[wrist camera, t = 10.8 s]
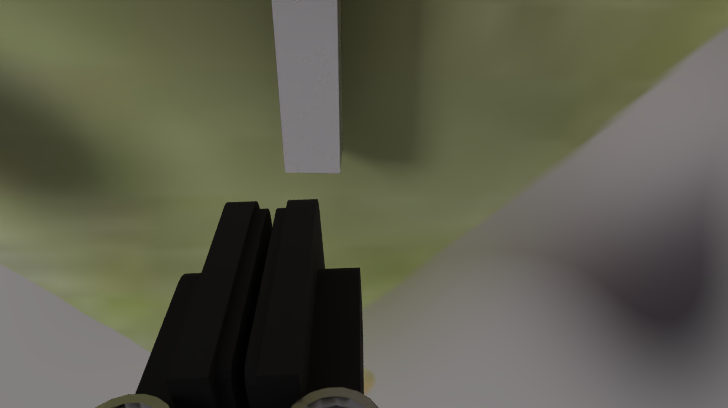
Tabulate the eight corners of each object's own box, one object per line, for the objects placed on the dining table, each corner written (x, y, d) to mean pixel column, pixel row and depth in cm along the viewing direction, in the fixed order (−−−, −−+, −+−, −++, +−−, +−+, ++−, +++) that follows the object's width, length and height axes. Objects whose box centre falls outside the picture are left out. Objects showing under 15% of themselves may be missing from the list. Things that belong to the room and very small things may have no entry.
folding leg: (271, -144, 25) (260, -142, 23) (338, -143, 25) (334, -141, 23) (291, 147, 33) (285, 172, 31) (342, 147, 33) (340, 173, 31)
